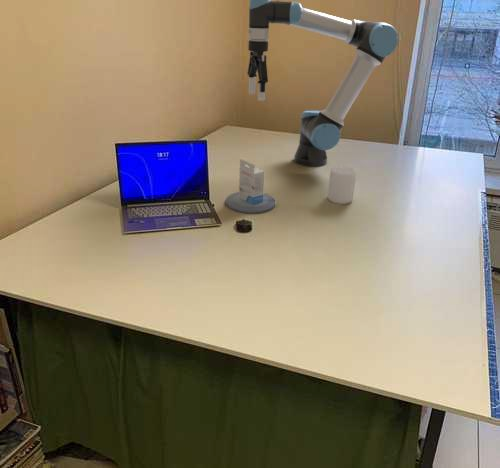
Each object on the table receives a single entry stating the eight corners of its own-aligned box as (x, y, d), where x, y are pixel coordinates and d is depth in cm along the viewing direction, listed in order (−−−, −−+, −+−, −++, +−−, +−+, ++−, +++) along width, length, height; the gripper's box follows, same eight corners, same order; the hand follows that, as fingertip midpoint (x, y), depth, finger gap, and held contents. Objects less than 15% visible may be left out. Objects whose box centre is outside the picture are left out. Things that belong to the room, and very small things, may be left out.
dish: (267, 192, 186) (267, 189, 185) (281, 211, 170) (281, 207, 170) (221, 195, 182) (221, 192, 181) (231, 215, 166) (232, 211, 165)
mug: (337, 206, 177) (340, 175, 171) (318, 194, 186) (321, 165, 181) (357, 202, 180) (362, 172, 175) (338, 191, 190) (342, 163, 185)
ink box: (263, 202, 174) (265, 162, 167) (252, 205, 171) (254, 165, 165) (248, 194, 180) (250, 156, 173) (238, 197, 177) (239, 158, 170)
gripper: (240, 37, 194) (239, 91, 203) (258, 43, 172) (256, 103, 182) (258, 37, 196) (256, 91, 205) (278, 43, 174) (275, 103, 184)
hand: (256, 97), depth 193 cm, fingers open, 13 cm apart
